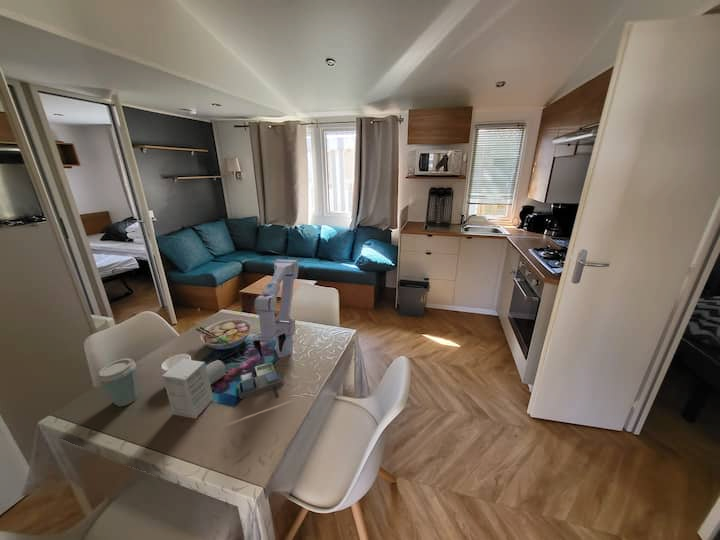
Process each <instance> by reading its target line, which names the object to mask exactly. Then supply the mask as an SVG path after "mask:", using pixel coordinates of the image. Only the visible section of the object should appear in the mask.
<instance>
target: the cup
mask: <svg viewBox="0 0 720 540" xmlns="http://www.w3.org/2000/svg"><path fill="white" fill-rule="evenodd" d="M183 359H187V360H192V357H191V356H190V355H189V354H186V353H181V354H176V355H173V356H171V357H169V358H167V359H165V360H164V361H163V362H162V364H161V365H160V367H161V371H162V372H163V374H165V373H166V372H167V371H168V370H170V369H171V368H172V367H174V366H175V365H176V364H177V363H179V362H180V361H181V360H183Z"/></svg>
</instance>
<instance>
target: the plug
mask: <svg viewBox="0 0 720 540" xmlns="http://www.w3.org/2000/svg"><path fill="white" fill-rule="evenodd" d="M253 378H254V377H253V372H248V373H245V374H240V382H242V387H241V388H242V393H243V392H246V391H249V390H252V389H255V385H254V384H255V383H254V382H253Z"/></svg>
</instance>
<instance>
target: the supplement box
mask: <svg viewBox="0 0 720 540" xmlns="http://www.w3.org/2000/svg"><path fill="white" fill-rule="evenodd" d="M206 365H207V364H206V361H199V360H193V359H191V360H187V359H183V360H181V361H180V362H179V363H177V364H176V365H175V366H174V367H172V368H171V369H170V370H168V371H167V372H166V373H163V374H162V375H161V377H162V382H163V384H164V388H165V390H166V391H165V392H166V393H167V397H168V401H169V405H170V407H171V411H172V414H173V415H175V416H180V417H184V418H190V419H197V418H198V417H199V415H201V413H202V412H203V411H204V410H205V409H206V408H207V407H208V406H209V405H210V403H212V402H213V399H214V396H213V391H212V386H211V385H210V382H209V378H208V373H207V369H206Z"/></svg>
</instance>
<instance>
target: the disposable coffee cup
mask: <svg viewBox="0 0 720 540" xmlns="http://www.w3.org/2000/svg"><path fill="white" fill-rule="evenodd" d="M136 368H137V364H136V362H135V360H133V359H132V358H129V357H126V358H121V359H117V360H115V361H113V362H110V363H108V364H107V365H105V366H103V367H102V368H101V369H100V370H99V372H98V373H97V374H96V375H97V381H99V383H100V384H101V385H102V387H103V389H104V391H105V392H106V393H107V394H108V396H109V397H110V399H111V400H112V402H113V403H114V405H116V406H117V407H124V406H127V405H129V404H132V403H133V402H134V401H135V400H136V399H137V398H138V395H139V390H138V382H137V380H138V379H137V371H136V370H137V369H136Z"/></svg>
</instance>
